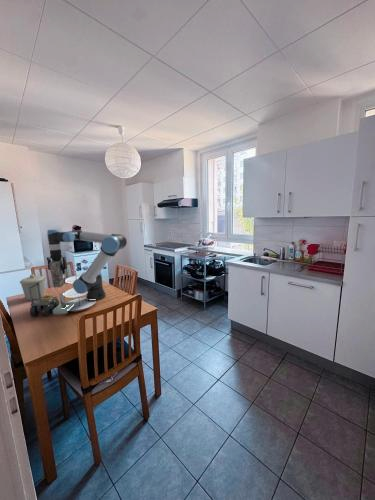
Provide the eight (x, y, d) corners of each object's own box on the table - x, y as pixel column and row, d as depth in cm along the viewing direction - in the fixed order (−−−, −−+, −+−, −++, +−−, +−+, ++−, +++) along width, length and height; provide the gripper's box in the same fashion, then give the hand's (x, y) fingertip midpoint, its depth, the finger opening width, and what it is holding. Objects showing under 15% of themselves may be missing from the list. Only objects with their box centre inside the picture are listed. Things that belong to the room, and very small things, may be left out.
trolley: (60, 307, 164) (56, 280, 160) (48, 317, 148) (43, 287, 144) (44, 308, 163) (39, 281, 159) (30, 318, 148) (25, 288, 144)
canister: (28, 303, 172) (24, 278, 168) (19, 299, 182) (14, 275, 178) (52, 295, 187) (48, 273, 184) (42, 292, 197) (38, 270, 193)
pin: (67, 307, 160) (64, 292, 158) (65, 309, 157) (62, 294, 155) (62, 308, 160) (60, 293, 158) (61, 310, 157) (58, 294, 155)
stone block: (62, 287, 164) (59, 262, 160) (52, 288, 162) (48, 263, 158) (66, 281, 176) (63, 258, 173) (57, 282, 174) (53, 259, 171)
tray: (74, 306, 165) (73, 301, 165) (66, 313, 153) (65, 309, 152) (62, 306, 165) (61, 302, 164) (53, 314, 152) (52, 310, 151)
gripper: (70, 248, 168) (73, 276, 172) (45, 248, 167) (49, 276, 171) (65, 249, 161) (68, 279, 165) (39, 250, 160) (43, 279, 164)
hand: (59, 277), depth 168 cm, fingers closed on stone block, 6 cm apart
